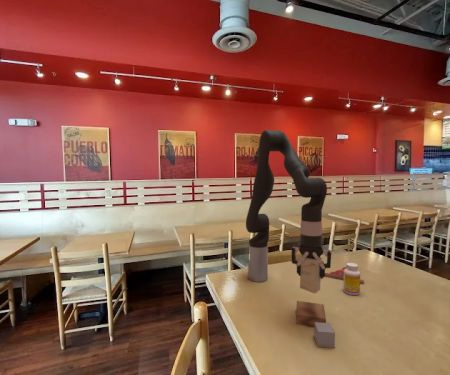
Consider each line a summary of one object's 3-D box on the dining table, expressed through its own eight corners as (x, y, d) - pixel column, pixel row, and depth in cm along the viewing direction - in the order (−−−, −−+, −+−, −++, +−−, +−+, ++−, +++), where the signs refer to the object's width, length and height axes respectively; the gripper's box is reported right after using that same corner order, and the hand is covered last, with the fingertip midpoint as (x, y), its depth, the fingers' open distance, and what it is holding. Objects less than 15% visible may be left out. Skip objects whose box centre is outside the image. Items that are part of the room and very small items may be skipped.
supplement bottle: (361, 296, 112) (362, 267, 111) (345, 295, 113) (346, 266, 112) (357, 289, 118) (357, 262, 118) (341, 288, 120) (342, 261, 119)
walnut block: (296, 325, 93) (296, 314, 92) (296, 310, 102) (296, 300, 102) (325, 329, 90) (325, 318, 89) (323, 314, 99) (323, 304, 99)
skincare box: (299, 288, 96) (299, 256, 95) (305, 284, 99) (305, 253, 98) (315, 294, 91) (316, 260, 91) (321, 290, 94) (321, 257, 94)
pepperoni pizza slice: (323, 273, 133) (331, 261, 150) (323, 277, 133) (330, 265, 150) (364, 281, 123) (367, 268, 140) (364, 286, 123) (367, 272, 140)
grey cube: (318, 346, 81) (318, 331, 80) (314, 336, 86) (314, 322, 85) (334, 347, 80) (334, 332, 80) (330, 337, 85) (330, 323, 85)
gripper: (289, 233, 93) (289, 277, 94) (332, 236, 88) (331, 283, 89) (292, 228, 100) (292, 270, 101) (332, 231, 94) (331, 275, 96)
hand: (310, 276), depth 95 cm, fingers closed on skincare box, 7 cm apart
